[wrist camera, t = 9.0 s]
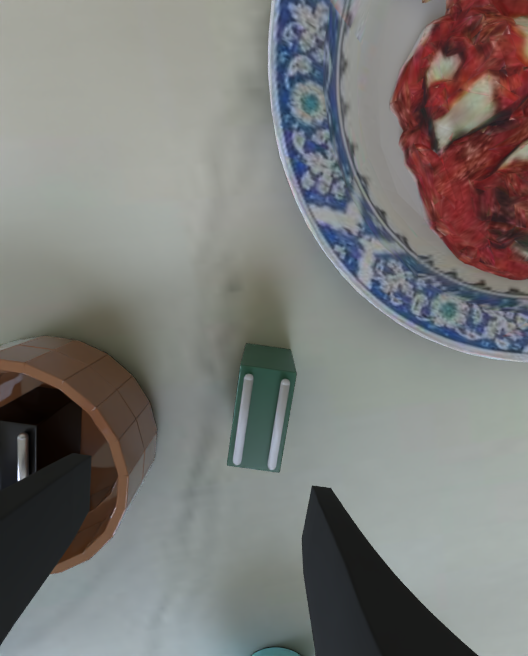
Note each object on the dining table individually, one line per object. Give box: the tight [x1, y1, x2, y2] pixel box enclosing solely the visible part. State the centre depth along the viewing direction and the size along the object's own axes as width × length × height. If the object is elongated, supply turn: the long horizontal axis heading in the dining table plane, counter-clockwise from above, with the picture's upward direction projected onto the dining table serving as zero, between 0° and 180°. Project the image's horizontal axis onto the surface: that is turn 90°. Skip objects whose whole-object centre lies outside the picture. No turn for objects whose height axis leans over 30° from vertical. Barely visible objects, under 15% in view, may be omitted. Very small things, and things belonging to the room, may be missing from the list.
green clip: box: [227, 343, 297, 473], centre depth 17 cm, size 5×2×4 cm, turn 172°
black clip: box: [0, 387, 82, 490], centre depth 17 cm, size 5×2×4 cm, turn 172°
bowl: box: [0, 336, 157, 574], centre depth 17 cm, size 11×11×4 cm
